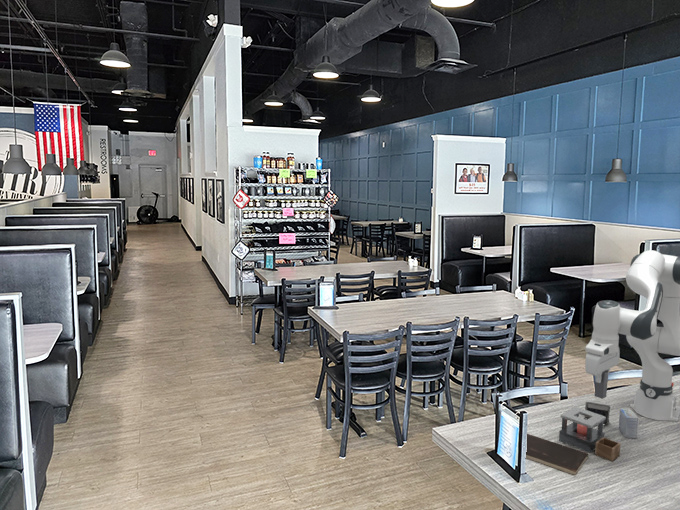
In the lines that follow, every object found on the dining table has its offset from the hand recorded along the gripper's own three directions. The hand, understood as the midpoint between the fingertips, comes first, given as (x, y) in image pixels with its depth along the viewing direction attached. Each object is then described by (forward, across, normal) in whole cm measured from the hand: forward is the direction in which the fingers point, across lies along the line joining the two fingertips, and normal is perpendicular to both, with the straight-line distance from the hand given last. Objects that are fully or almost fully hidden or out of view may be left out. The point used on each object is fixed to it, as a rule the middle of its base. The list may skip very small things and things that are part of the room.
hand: (601, 380), depth 188 cm
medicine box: (+28, -23, +2) cm, 36 cm away
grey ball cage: (+27, -2, -6) cm, 28 cm away
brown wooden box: (+27, +1, +4) cm, 28 cm away
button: (+26, -2, -7) cm, 27 cm away
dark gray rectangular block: (+6, 0, 0) cm, 6 cm away
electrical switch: (+28, -23, -10) cm, 37 cm away
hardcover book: (+28, +17, -9) cm, 34 cm away
